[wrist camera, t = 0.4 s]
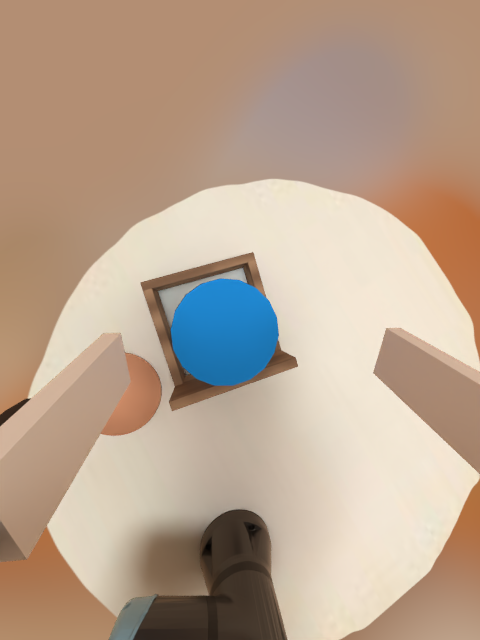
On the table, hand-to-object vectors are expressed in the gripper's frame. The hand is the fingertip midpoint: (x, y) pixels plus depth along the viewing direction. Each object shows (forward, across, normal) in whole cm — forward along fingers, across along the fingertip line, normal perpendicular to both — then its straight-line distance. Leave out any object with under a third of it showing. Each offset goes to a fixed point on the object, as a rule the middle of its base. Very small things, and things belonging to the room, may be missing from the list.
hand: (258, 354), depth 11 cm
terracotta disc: (+27, +22, +24) cm, 43 cm away
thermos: (+33, +3, +12) cm, 36 cm away
